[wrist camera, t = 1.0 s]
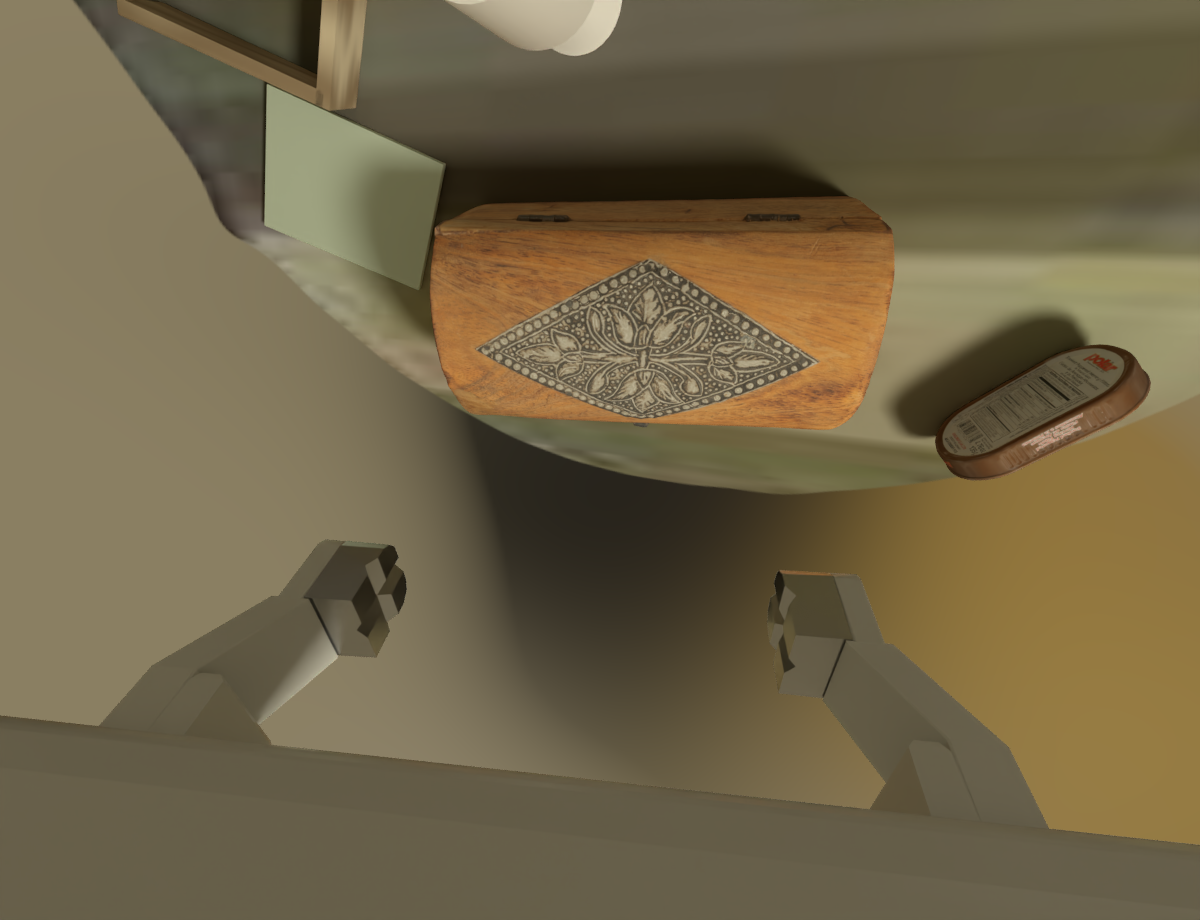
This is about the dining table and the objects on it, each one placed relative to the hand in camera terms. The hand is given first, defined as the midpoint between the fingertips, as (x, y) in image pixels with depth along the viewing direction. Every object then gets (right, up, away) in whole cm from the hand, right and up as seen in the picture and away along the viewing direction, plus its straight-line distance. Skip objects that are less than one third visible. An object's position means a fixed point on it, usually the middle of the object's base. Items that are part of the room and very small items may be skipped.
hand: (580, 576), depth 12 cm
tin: (+37, +9, +38) cm, 54 cm away
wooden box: (+5, +17, +37) cm, 41 cm away
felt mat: (-20, +25, +34) cm, 47 cm away
